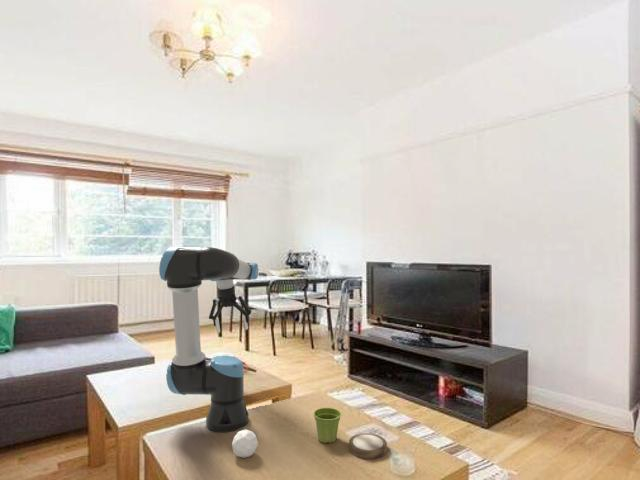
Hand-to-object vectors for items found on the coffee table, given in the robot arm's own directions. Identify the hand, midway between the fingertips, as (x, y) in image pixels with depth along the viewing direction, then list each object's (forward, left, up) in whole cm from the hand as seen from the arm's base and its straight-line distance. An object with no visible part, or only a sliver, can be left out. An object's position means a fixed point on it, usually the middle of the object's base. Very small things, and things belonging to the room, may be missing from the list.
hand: (232, 330), depth 194 cm
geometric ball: (-42, -57, -23) cm, 74 cm away
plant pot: (-18, -71, -23) cm, 76 cm away
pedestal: (-15, -85, -23) cm, 89 cm away
